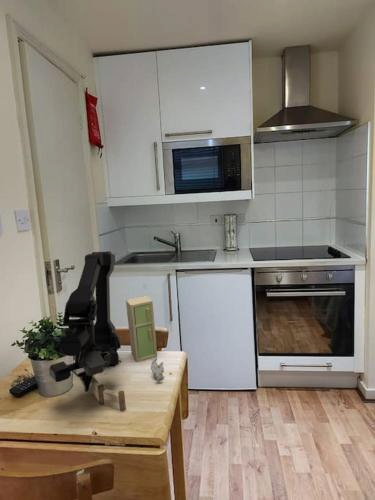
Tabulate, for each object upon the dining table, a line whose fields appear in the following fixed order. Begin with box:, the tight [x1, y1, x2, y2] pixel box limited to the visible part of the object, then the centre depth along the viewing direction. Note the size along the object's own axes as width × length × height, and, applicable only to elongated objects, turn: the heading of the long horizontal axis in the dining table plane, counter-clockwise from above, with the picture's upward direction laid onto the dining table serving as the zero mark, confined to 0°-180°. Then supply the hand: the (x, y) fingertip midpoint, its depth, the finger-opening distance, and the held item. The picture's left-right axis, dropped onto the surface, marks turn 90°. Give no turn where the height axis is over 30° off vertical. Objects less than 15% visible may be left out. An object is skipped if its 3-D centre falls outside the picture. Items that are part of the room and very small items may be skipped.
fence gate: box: [88, 375, 102, 402], centre depth 102 cm, size 9×2×5 cm, turn 36°
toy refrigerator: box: [125, 295, 158, 363], centre depth 123 cm, size 8×7×21 cm
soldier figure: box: [150, 356, 172, 383], centre depth 111 cm, size 8×5×12 cm
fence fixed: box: [98, 384, 127, 412], centre depth 96 cm, size 9×2×6 cm, turn 61°
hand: (86, 391), depth 101 cm, fingers closed
